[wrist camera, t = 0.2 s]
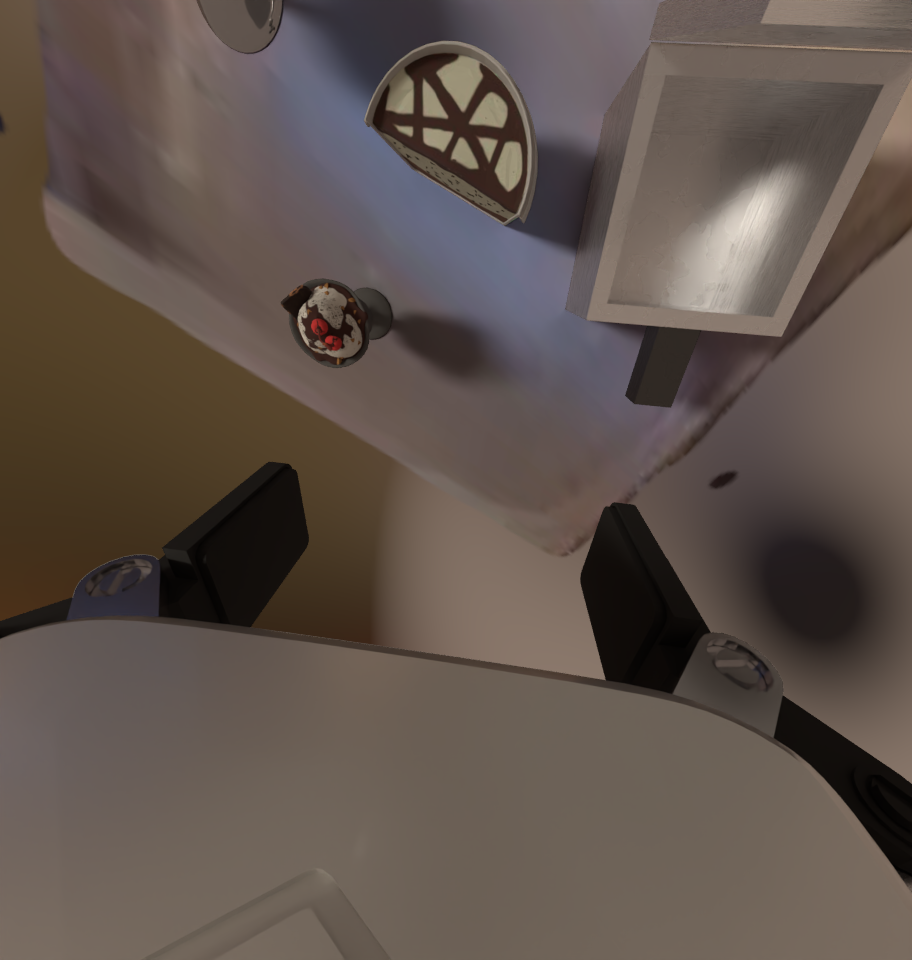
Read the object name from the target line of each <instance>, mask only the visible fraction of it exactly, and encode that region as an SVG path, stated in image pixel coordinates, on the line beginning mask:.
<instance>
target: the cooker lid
mask: <svg viewBox="0 0 912 960" xmlns="http://www.w3.org/2000/svg"><path fill="white" fill-rule="evenodd" d="M649 40H662V41H687V42H712V43H737V44H762V45H787V46H812V47H837V48H862V49H886V50H911V51H912V0H665V1H663V2H661V3H659V6H658V10H657V14H656V17H655V21H654V24H653V28H652V31H651V35H650V38H649Z"/></svg>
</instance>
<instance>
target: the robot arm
mask: <svg viewBox="0 0 912 960" xmlns="http://www.w3.org/2000/svg"><path fill="white" fill-rule="evenodd" d="M308 542H309V536H308V530H307V526H306V519H305V514H304V508H303V503H302V497H301V492H300V486H299V481H298V475H297V472H296V470H294V469H292V467H291V466H290V465H289V464H285V463H276V462H268V463H266V464H265V465H264V466H263V467H261V468H260V469H259V470H258V471H256V472H255V473H254V474H253V475H252V476H250V477H249V478H248V479H247V480H246V481H244V482H243V483H242V484H240V485H239V486H238V487H237V488H235V489H234V490H233V491H232V492H230V493H229V494H228V495H227V496H225V497H224V498H223V499H222V500H221V501H219V502H218V503H217V504H216V505H214V506H213V507H212V508H211V509H209V510H208V511H207V512H206V513H204V514H203V515H202V516H201V517H199V518H198V519H197V520H196V521H195V522H193V523H192V524H191V525H190V526H188V527H187V528H186V529H185V530H183V531H182V532H181V533H180V534H179V535H177V536H176V537H175V538H174V539H172V540H171V541H170V542H169V543H168V544H166V545H165V546H164V547H163V548H162V549H163V551H164V553H165V555H164V556H163V557H162V558H161V559H160V560H158V559H156V558H155V557H154V556H150V555H131V556H126V557H122V558H119V559H116V560H113V561H110V562H108V563H106V564H104V565H102V566H99V567H98V568H96V569H95V570H93V571H91V572H90V573H88V574H87V575H86V576H85V577H84V578H83V579H82V580H81V581H80V582H79V583H78V585H77V587H76V589H75V592H74V595H73V597H72V598H69V599H66V600H63V601H60V602H57V603H54V604H51V605H48V606H45V607H42V608H39V609H36V610H33V611H29V612H27V613H23V614H20V615H17V616H14V617H11V618H9V619H5V620H2V621H0V960H912V784H911V783H910V782H909V781H907V780H906V779H905V778H903V777H902V776H901V775H899V774H898V773H897V772H895V771H894V770H892V769H891V768H889V767H888V766H886V765H885V764H883V763H882V762H880V761H879V760H877V759H876V758H874V757H873V756H872V755H870V754H869V753H867V752H865V751H864V750H863V749H861V748H860V747H858V746H857V745H855V744H854V743H852V742H851V741H849V740H848V739H846V738H845V737H843V736H842V735H841V734H839V733H838V732H836V731H835V730H833V729H832V728H830V727H829V726H827V725H826V724H824V723H823V722H821V721H820V720H818V719H817V718H815V717H814V716H813V715H811V714H810V713H808V712H806V711H805V710H804V709H802V708H801V707H799V706H798V705H796V704H795V703H793V702H792V701H790V700H789V699H787V698H786V697H785V696H783V682H782V679H781V677H780V675H779V673H778V671H777V670H776V669H775V667H774V666H773V665H772V663H771V662H770V661H769V660H768V659H767V658H766V657H765V656H764V655H763V654H762V653H760V652H759V651H758V650H757V649H755V648H754V647H752V646H751V645H749V644H748V643H746V642H744V641H742V640H740V639H738V638H736V637H734V636H731V635H727V634H724V633H714V632H712V633H711V632H710V630H709V629H708V627H707V625H706V624H705V622H704V620H703V619H702V617H701V615H700V613H699V612H698V610H697V608H696V607H695V605H694V603H693V602H692V600H691V598H690V596H689V595H688V593H687V592H686V590H685V588H684V586H683V585H682V583H681V581H680V580H679V578H678V576H677V575H676V573H675V571H674V569H673V568H672V566H671V564H670V563H669V561H668V559H667V558H666V557H665V555H664V553H663V552H662V550H661V548H660V546H659V545H658V543H657V541H656V540H655V538H654V536H653V535H652V533H651V531H650V529H649V528H648V526H647V524H646V523H645V521H644V519H643V518H642V516H641V514H640V512H639V511H638V509H637V507H636V506H635V505H631V504H623V503H615V502H614V503H612V504H611V506H610V507H607V506H606V507H605V508H604V509H603V512H602V515H601V518H600V520H599V523H598V526H597V529H596V532H595V535H594V538H593V541H592V543H591V546H590V549H589V552H588V555H587V558H586V560H585V563H584V566H583V569H582V572H581V578H580V580H581V587H582V591H583V594H584V599H585V602H586V606H587V610H588V614H589V617H590V621H591V625H592V629H593V633H594V637H595V641H596V644H597V648H598V652H599V656H600V660H601V663H602V667H603V671H604V675H605V679H606V680H600V679H594V678H589V677H582V676H576V675H571V674H565V673H559V672H552V671H546V670H539V669H533V668H526V667H519V666H512V665H506V664H500V663H492V662H486V661H480V660H472V659H466V658H460V657H453V656H446V655H439V654H433V653H425V652H419V651H412V650H405V649H399V648H392V647H385V646H377V645H371V644H364V643H357V642H350V641H343V640H336V639H329V638H322V637H315V636H308V635H301V634H293V633H286V632H279V631H272V630H264V629H257V628H250V627H251V626H252V624H253V623H254V621H255V620H256V618H257V617H258V616H259V614H260V613H261V612H262V610H263V609H264V607H265V606H266V604H267V603H268V602H269V600H270V599H271V597H272V596H273V595H274V593H275V592H276V590H277V589H278V588H279V586H280V585H281V583H282V582H283V580H284V579H285V577H286V576H287V575H288V573H289V572H290V571H291V569H292V568H293V566H294V565H295V563H296V562H297V560H298V559H299V558H300V556H301V555H302V553H303V552H304V551H305V549H306V548H307V545H308Z"/></svg>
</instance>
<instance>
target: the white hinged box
mask: <svg viewBox="0 0 912 960" xmlns="http://www.w3.org/2000/svg"><path fill="white" fill-rule="evenodd" d="M911 78H912V53H905V52H880V51H856V50H831V49H806V48H782V47H757V46H732V45H707V44H683V43H658V42H651V44H650V45H649V47H648V48H647V50H646V51H645V53H644V55H643V56H642V58H641V59H640V61H639V62H638V64H637V65H636V67H635V68H634V70H633V71H632V73H631V75H630V76H629V78H628V79H627V81H626V82H625V84H624V85H623V87H622V88H621V90H620V92H619V93H618V95H617V96H616V98H615V99H614V101H613V102H612V104H611V105H610V107H609V109H608V110H607V112H606V113H605V115H604V120H603V125H602V130H601V135H600V140H599V145H598V150H597V154H596V159H595V164H594V169H593V174H592V179H591V184H590V189H589V194H588V199H587V204H586V209H585V213H584V218H583V223H582V228H581V233H580V238H579V243H578V248H577V253H576V258H575V263H574V268H573V272H572V277H571V282H570V287H569V292H568V297H567V302H566V307H565V310H567V311H569V312H571V313H573V314H575V315H577V316H579V317H581V318H583V319H585V320H590V321H602V322H614V323H625V324H637V325H647V328H646V331H645V335H644V338H643V341H642V344H641V347H640V350H639V354H638V357H637V360H636V363H635V366H634V369H633V372H632V376H631V379H630V382H629V385H628V388H627V391H626V395H625V396H626V397H627V398H628V399H629V400H630V401H632V402H633V403H634V404H640V405H650V406H661V407H671V406H672V404H673V401H674V399H675V396H676V393H677V391H678V388H679V386H680V383H681V381H682V378H683V375H684V373H685V370H686V368H687V365H688V363H689V360H690V358H691V355H692V352H693V350H694V347H695V345H696V342H697V340H698V337H699V335H700V332H701V330H707V331H719V332H731V333H742V334H754V335H766V336H777V337H782V335H783V333H784V331H785V329H786V327H787V325H788V323H789V321H790V319H791V317H792V315H793V313H794V311H795V309H796V307H797V305H798V303H799V301H800V299H801V297H802V295H803V293H804V291H805V289H806V287H807V285H808V283H809V281H810V279H811V277H812V275H813V273H814V271H815V269H816V267H817V265H818V263H819V261H820V259H821V257H822V255H823V253H824V251H825V249H826V247H827V245H828V243H829V241H830V239H831V237H832V235H833V233H834V231H835V229H836V227H837V225H838V223H839V221H840V219H841V217H842V215H843V213H844V211H845V209H846V207H847V206H848V204H849V202H850V200H851V198H852V196H853V194H854V192H855V190H856V188H857V186H858V184H859V182H860V180H861V178H862V176H863V174H864V172H865V170H866V168H867V166H868V164H869V162H870V160H871V158H872V156H873V154H874V152H875V150H876V148H877V146H878V144H879V142H880V140H881V138H882V136H883V134H884V132H885V130H886V128H887V126H888V124H889V122H890V120H891V118H892V116H893V114H894V112H895V110H896V108H897V106H898V104H899V102H900V100H901V98H902V96H903V94H904V92H905V90H906V88H907V86H908V84H909V82H910V80H911Z"/></svg>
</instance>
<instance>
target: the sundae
mask: <svg viewBox="0 0 912 960" xmlns="http://www.w3.org/2000/svg"><path fill="white" fill-rule="evenodd" d="M281 305H282V306H283V307H284V308H285V309H286V310H287V311H288V312H289V324H290V328H291V331H292V334H293V336H294V339H295V341H296V342H297V343H298V345H299V346H300V347H301V349H302V350H303V351H304V352H305V353H306V354H307V355H309V356H310V357H311V358H312V359H314V360H315V361H317V362H318V363H320V364H322V365H325V366H327V367H332V368H342V367H346V366H349V365H351V364H353V363H355V362H356V361H358V360H359V359H360V358H361V357H362V356H363V355H364V354H365V352H366V350H367V348H368V344H369V339H370V340H371V339H378V338H380V337H382V336H383V335H384V334H386V332H387V331H388V329H389V327H390V325H391V318H392V315H391V310H390V306H389V304H388V302H387V300H386V299H385V298H384V296H383V295H381V294H380V293H379V292H378V291H376V290H374V289H371V288H361V289H357V290H356V291H354V292H353V291H352V290H351V289H350V288H349V287H347V286H346V285H344V284H342V283H340V282H337V281H333V280H329V279H315V280H311V281H307V282H306V283H304V284H303V285H301V286H299V287H297V288H296V289H295V290H293V291H292V292H291V293H290V294H289V295H288V296H287V297H286V298H285V299H283V300H282V301H281Z"/></svg>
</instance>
